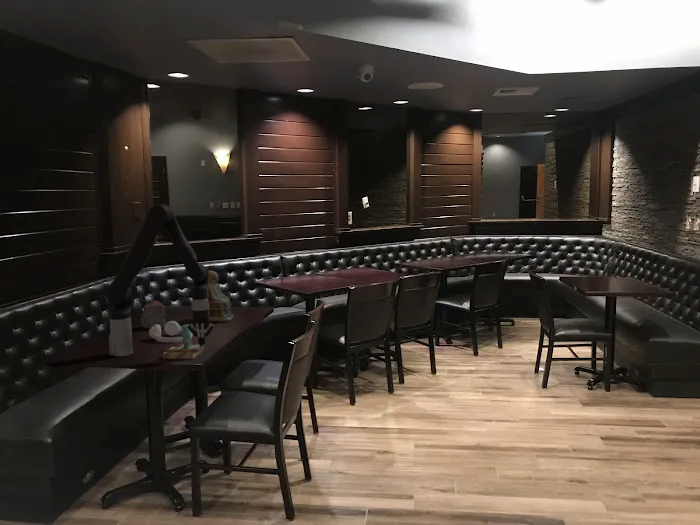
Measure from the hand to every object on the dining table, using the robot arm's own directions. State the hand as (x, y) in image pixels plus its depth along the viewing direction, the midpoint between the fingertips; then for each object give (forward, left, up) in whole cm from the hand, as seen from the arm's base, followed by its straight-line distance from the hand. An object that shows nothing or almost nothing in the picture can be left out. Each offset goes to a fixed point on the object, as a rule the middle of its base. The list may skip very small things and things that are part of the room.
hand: (202, 345), depth 272 cm
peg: (-11, +11, -4) cm, 17 cm away
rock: (-44, +56, -5) cm, 71 cm away
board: (-9, 0, -4) cm, 10 cm away
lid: (-7, 0, -2) cm, 7 cm away
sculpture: (-14, +76, -5) cm, 77 cm away
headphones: (-25, +30, -5) cm, 39 cm away
